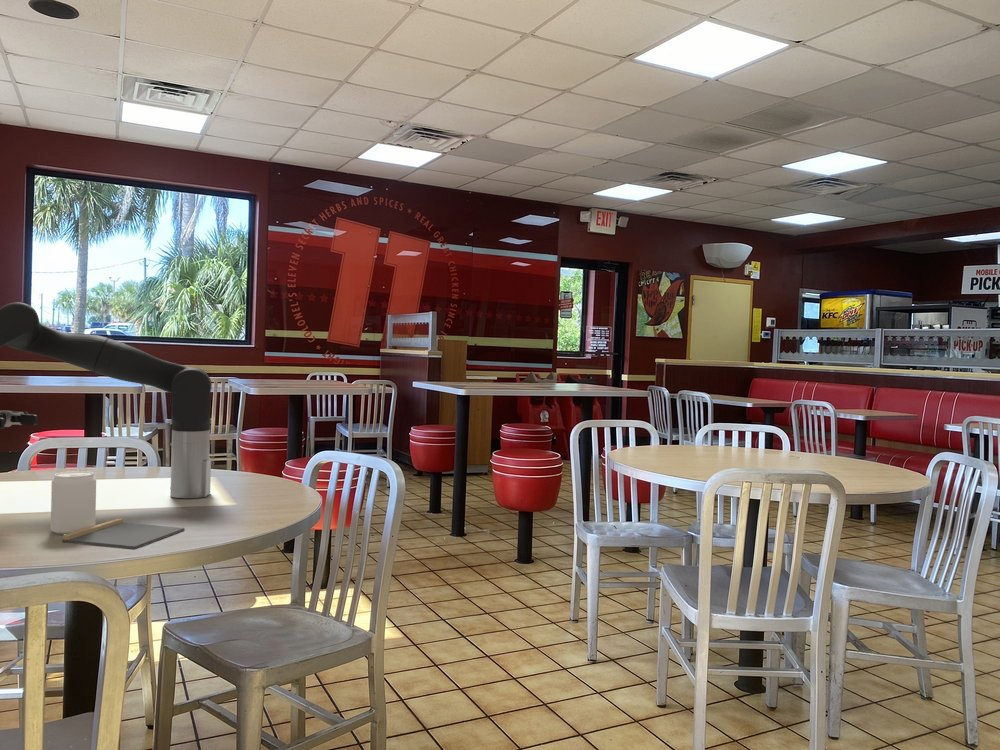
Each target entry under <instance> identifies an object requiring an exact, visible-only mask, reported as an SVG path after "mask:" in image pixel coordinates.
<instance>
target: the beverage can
mask: <svg viewBox="0 0 1000 750" xmlns="http://www.w3.org/2000/svg"><path fill="white" fill-rule="evenodd" d="M50 503H51V504H50V506H51V507H50V530H51V532H53V533H56V534H58V535H63V534H69V533H72V532H75V531H79V530H82V529H85V528H89V527H92V526H95V525H96V520H97V519H96V517H97V516H96V511H97V510H96V509H97V508H96V507H97V505H96V504H97V477H96V476H95V475H94V472H92V471H88V470H87V471H86V470H78V471H77V470H71V471H70V470H69V471H61V472H58V473H54V477H53V479H52V480H51V501H50Z"/></svg>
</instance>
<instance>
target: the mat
mask: <svg viewBox="0 0 1000 750" xmlns="http://www.w3.org/2000/svg"><path fill="white" fill-rule="evenodd" d="M185 530H186V529H185V527H178V526H167V525H165V526H164V525H155V524H146V523H145V524H144V523H143V524H142V523H135V522H134V523H133V522H124V518H118V517H117V518H115V519H112V520H108V521H105V522H102V523H99V524H95V526H92V527H89V528H85V529H82V530H79V531H75V532H72V533H69V534H66V535H63V534H62V543H68V542H69V543H70V544H71V543H72V544H79V543H80V544H79V545H89V546H90V545H92V546H101V547H102V546H103V547H111V548H122V549H129V550H130V549H131V550H137V549H139V548H141V547H143V546H146V545H149V544H152V543H154V542H157V541H160V540H163V539H165V538H167V537H171V536H173V535H176V534H178V533H181V532H184V531H185Z"/></svg>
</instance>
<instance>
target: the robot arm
mask: <svg viewBox="0 0 1000 750" xmlns="http://www.w3.org/2000/svg"><path fill="white" fill-rule="evenodd" d="M5 345H6V347H9V348H11V349H15V350H18V351H22V352H26V353H31V354H36V355H41V356H44V357H47V358H53V359H55V360H59V361H61V362H63V363H66V364H69V365H71V366H74V367H78V368H81V369H84V370H87V371H89V372H93V373H96V374H99V375H102V376H105V377H108V378H111V379H113V380H114V379H116V380H117V381H118V380H119V381H122V382H127V383H132V384H133V383H135V384H139V385H141V384H142V385H146V386H150V387H154V388H156V389H159V390H161V391H164V392H167V393H168V394H171V405H170V406H171V408H170V409H171V410H170V411H171V414H170V415H171V449H170V450H171V451H170V452H171V455H170V456H171V458H170V459H171V460H170V462H171V463H170V492H169V493H170V497H172V498H174V499H175V498H176V499H198V498H207V497H208V496H209V495H210V493H211V481H212V479H211V477H212V476H211V474H212V471H211V470H212V458H211V457H210V449H211V448H210V447H211V446H210V444H211V443H210V440H211V437H210V436H211V395H212V394H211V391H212V388H213V387H212V379H211V377H210V376H209V374H208V373H207V372H205V370H202V369H201V368H198V367H191V366H187V365H182V364H179V363H175V362H170V361H168V360H165V359H160V358H158V357H157V356H154V355H151V354H150V353H147V352H145V351H144V350H141V349H139V348H136V347H134V346H131V345H128V344H127V343H123V342H122V341H118V340H115V339H113V338H112V339H111V338H109V337H106V336H102V335H99V334H98V335H97V334H81V333H68V332H64V331H61V330H57V329H56V328H52V327H50V326H48V325H45V324H43V323H40V319H39V315H38V312H37V311H36V310H35V308H34V307H33V306H31V305H30V304H28V303H23V302H21V301H19V302H18V301H16V302H9V303H6V304H5V305H3V306H1V307H0V348H2V347H4V346H5ZM38 420H39V418H38V415H37V414H29V412H28V411H13V410H0V430H2V429H4V428H9V427H11V426H12V425H14V426H15V425H19V426H24V425H25V426H36V425H37V426H38Z"/></svg>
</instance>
